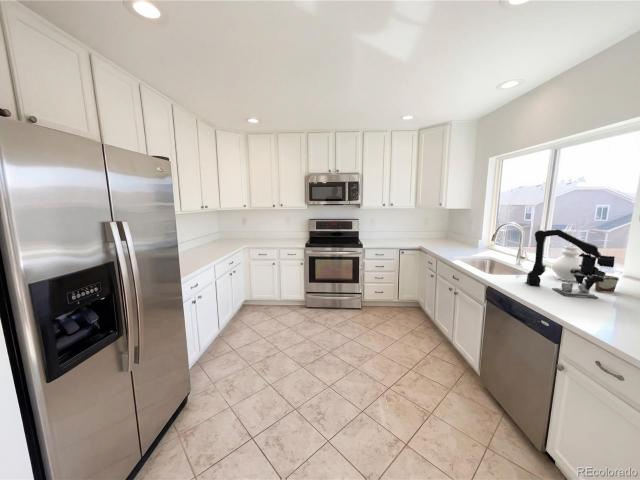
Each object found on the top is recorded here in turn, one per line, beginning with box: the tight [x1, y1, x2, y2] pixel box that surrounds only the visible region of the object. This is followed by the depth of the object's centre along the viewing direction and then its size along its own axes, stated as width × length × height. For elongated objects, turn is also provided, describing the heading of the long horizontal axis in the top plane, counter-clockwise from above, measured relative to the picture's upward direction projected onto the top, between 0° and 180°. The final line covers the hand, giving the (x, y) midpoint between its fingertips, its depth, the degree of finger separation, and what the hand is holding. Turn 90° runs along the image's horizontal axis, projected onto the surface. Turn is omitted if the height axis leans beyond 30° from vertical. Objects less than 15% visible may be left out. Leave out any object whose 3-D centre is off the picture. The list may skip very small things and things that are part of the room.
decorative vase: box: [551, 245, 582, 282], centre depth 185 cm, size 18×18×25 cm
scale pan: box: [555, 287, 596, 296], centre depth 158 cm, size 15×9×1 cm, turn 75°
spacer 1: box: [560, 281, 574, 292], centre depth 158 cm, size 5×5×5 cm
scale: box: [551, 287, 599, 300], centre depth 158 cm, size 17×12×1 cm
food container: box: [594, 274, 620, 293], centre depth 163 cm, size 12×6×10 cm, turn 84°
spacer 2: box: [577, 282, 591, 293], centre depth 156 cm, size 5×5×5 cm
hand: (583, 287), depth 156 cm, fingers open, 6 cm apart
